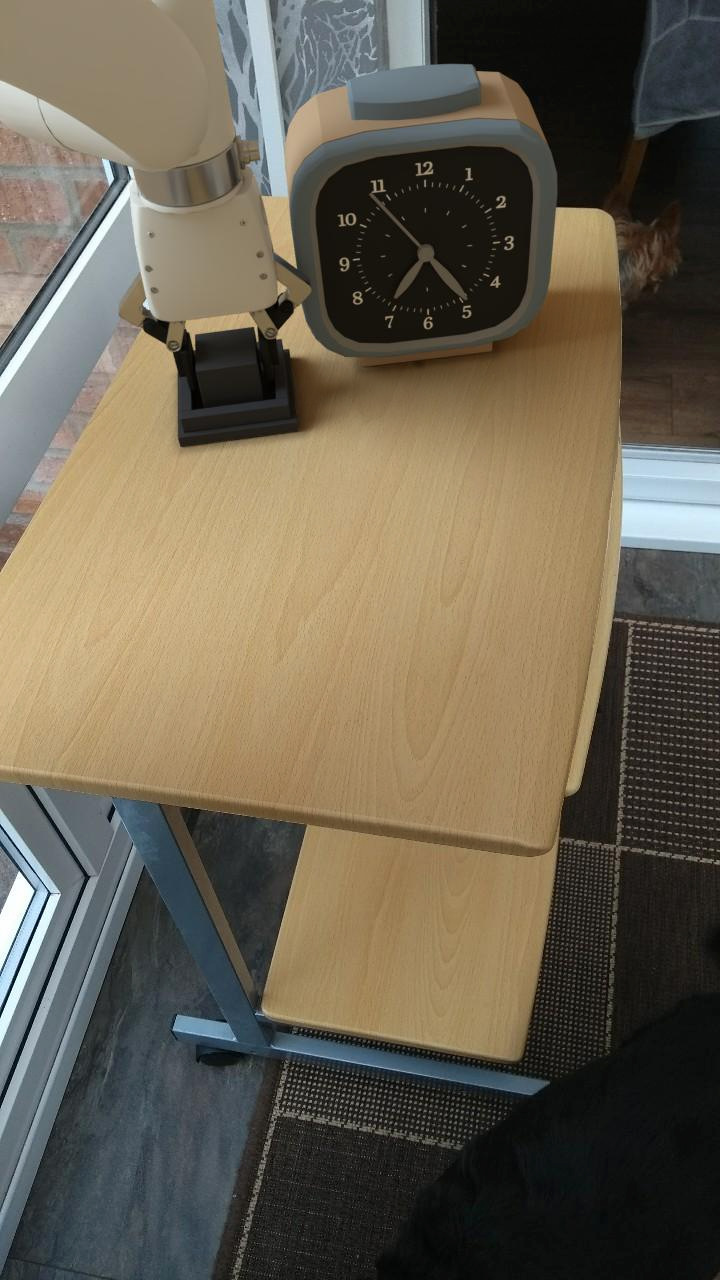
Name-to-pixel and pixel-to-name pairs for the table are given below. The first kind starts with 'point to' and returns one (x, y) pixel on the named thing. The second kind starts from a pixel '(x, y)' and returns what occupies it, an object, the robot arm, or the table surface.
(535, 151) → the alarm clock
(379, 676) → the table surface
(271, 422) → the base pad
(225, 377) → the black cube
